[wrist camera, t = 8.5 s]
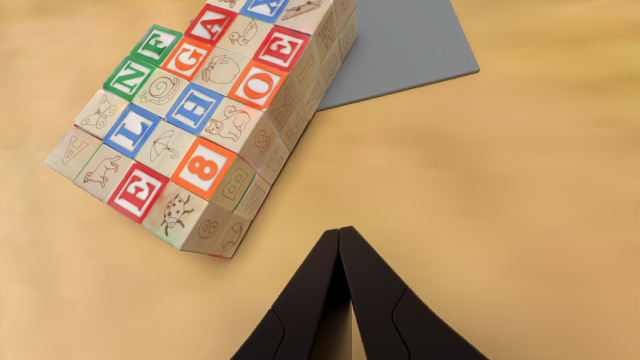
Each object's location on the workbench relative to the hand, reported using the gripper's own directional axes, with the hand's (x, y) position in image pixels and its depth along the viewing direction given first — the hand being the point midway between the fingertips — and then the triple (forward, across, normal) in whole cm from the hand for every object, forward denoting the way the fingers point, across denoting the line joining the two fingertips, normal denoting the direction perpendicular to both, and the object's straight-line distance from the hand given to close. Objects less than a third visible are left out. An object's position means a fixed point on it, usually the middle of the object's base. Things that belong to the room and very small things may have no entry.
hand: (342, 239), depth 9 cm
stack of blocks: (+13, +3, -1) cm, 13 cm away
